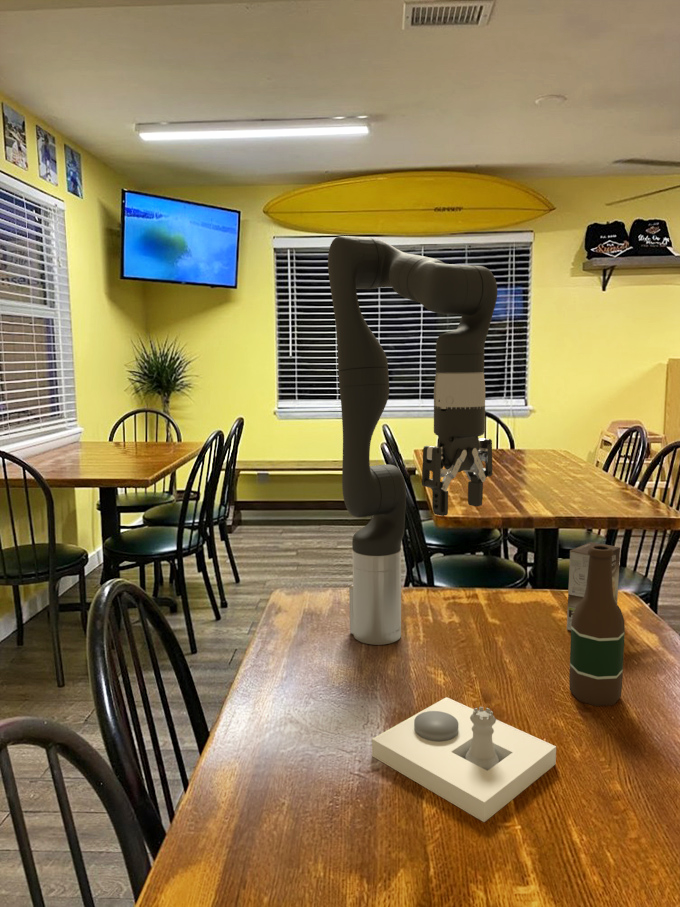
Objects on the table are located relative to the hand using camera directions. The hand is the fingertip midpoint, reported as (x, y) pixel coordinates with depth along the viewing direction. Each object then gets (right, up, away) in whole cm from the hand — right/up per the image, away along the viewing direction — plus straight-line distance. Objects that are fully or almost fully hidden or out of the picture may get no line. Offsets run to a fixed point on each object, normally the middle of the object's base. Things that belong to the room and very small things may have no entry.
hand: (458, 510), depth 101 cm
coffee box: (+32, -26, +30) cm, 51 cm away
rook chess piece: (0, -33, -15) cm, 36 cm away
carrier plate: (-2, -32, -13) cm, 35 cm away
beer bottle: (+22, -30, +4) cm, 37 cm away
